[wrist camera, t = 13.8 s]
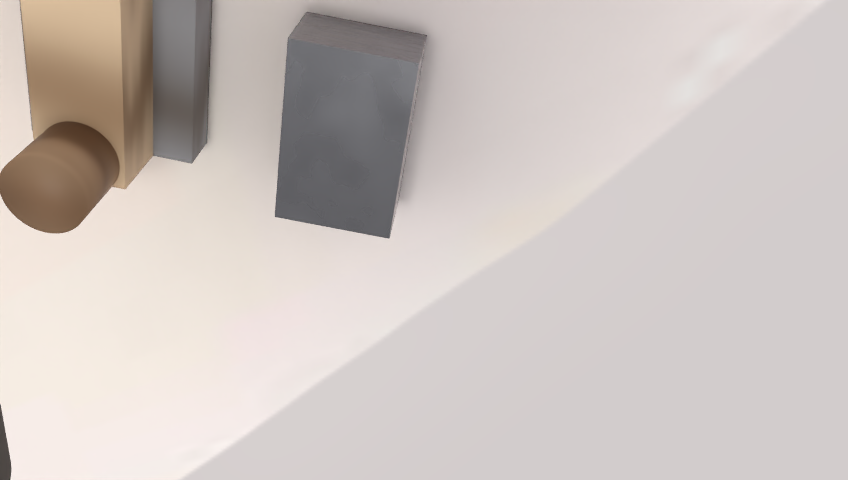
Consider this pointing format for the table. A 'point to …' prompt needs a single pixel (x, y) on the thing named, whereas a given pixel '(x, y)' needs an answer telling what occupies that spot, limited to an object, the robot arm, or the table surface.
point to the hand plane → (106, 100)
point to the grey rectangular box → (346, 123)
